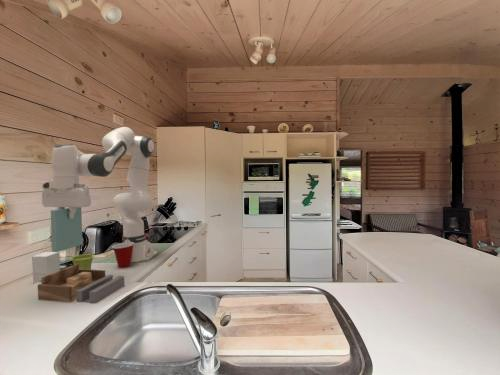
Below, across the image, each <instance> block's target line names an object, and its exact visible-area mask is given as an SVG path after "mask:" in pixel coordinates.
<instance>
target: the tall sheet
mask: <svg viewBox="0 0 500 375" xmlns="http://www.w3.org/2000/svg"><path fill="white" fill-rule="evenodd" d="M76 208H77V210H76V211H75V213H74V218H72V219H69V218H67V217H68V216H67V214H69V213H70V210H69V207H65V209H58V210H57V209H54V210H53V209H52V210H51V209H50V228H51V229H50V231H51V232H50V233H51V252H61V251H62V252H63V251H65V250H67V249H71V248H75V247H79V246H81V245H83V223H82V221H83V218H82V217H83V216H82V207H76Z"/></svg>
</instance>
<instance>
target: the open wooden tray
mask: <svg viewBox="0 0 500 375" xmlns="http://www.w3.org/2000/svg"><path fill="white" fill-rule="evenodd" d="M82 272H91V277H92V281H97V280H99V279H101V278H103V277H105V276H106V270H102V269H91V270H90V269H79V264H76V265H74V264H73V265H70V266H68V267H65V268H62V269H60V271H57V272H55V273H52V274H49V275H47V276H44V277H42V278H41V281H40V282H41V283H39V284H37V300H40V301H41V300H42V301H51V302H62V303H63V302H64V303H72V302H73V301H75V300H76V296H74V297H72V289H71V286H64V285H66V284H67V280H66V279H68V278H70V277H72V276H75V275H77V274H79V273H82Z"/></svg>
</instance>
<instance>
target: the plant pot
mask: <svg viewBox="0 0 500 375" xmlns="http://www.w3.org/2000/svg"><path fill="white" fill-rule="evenodd" d="M94 257H95V255H94V254H90V253H86V254H79V255H75V256H73V257H71V259H70V260H71V261H72V264H73V265H76V264H79V269H90V270H92V263H93V258H94Z"/></svg>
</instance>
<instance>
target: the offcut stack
mask: <svg viewBox="0 0 500 375" xmlns="http://www.w3.org/2000/svg"><path fill="white" fill-rule="evenodd" d="M66 280H67V284H66V285H64V286H71V289H72V297H74V296H76V291H77V290H79V289H81V288H83V287H85V286H87V285H89V284H91V283H93V282H95V281H92V277H91V272H82V273H79V274H77V275H75V276H72V277H70V278H68V279H66Z"/></svg>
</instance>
